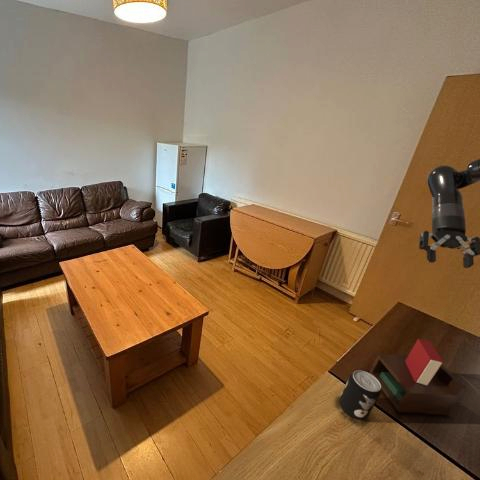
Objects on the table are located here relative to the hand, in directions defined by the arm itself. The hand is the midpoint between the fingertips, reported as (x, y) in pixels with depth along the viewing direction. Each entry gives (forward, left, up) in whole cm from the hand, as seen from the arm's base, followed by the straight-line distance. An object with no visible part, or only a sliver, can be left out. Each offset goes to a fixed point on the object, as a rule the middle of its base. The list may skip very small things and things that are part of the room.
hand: (449, 264), depth 82 cm
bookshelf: (+22, +25, -29) cm, 44 cm away
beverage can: (+40, +31, -29) cm, 58 cm away
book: (+22, +25, -21) cm, 39 cm away
